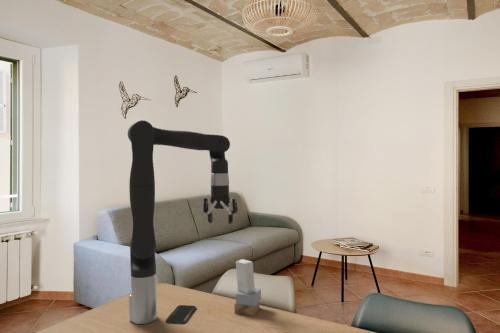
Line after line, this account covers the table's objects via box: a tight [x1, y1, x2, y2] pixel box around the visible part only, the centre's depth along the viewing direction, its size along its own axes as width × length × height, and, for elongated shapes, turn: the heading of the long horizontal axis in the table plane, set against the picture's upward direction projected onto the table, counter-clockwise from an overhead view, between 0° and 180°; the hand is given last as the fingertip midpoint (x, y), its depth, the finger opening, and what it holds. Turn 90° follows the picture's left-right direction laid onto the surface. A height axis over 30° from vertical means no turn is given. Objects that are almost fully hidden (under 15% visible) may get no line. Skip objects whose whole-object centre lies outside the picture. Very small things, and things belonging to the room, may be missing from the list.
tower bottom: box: [234, 300, 261, 317], centre depth 146 cm, size 8×8×4 cm
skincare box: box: [235, 258, 255, 294], centre depth 145 cm, size 6×4×12 cm
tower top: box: [235, 287, 262, 306], centre depth 146 cm, size 8×8×4 cm
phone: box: [165, 304, 197, 325], centre depth 142 cm, size 8×1×15 cm
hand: (220, 223), depth 151 cm, fingers open, 8 cm apart
